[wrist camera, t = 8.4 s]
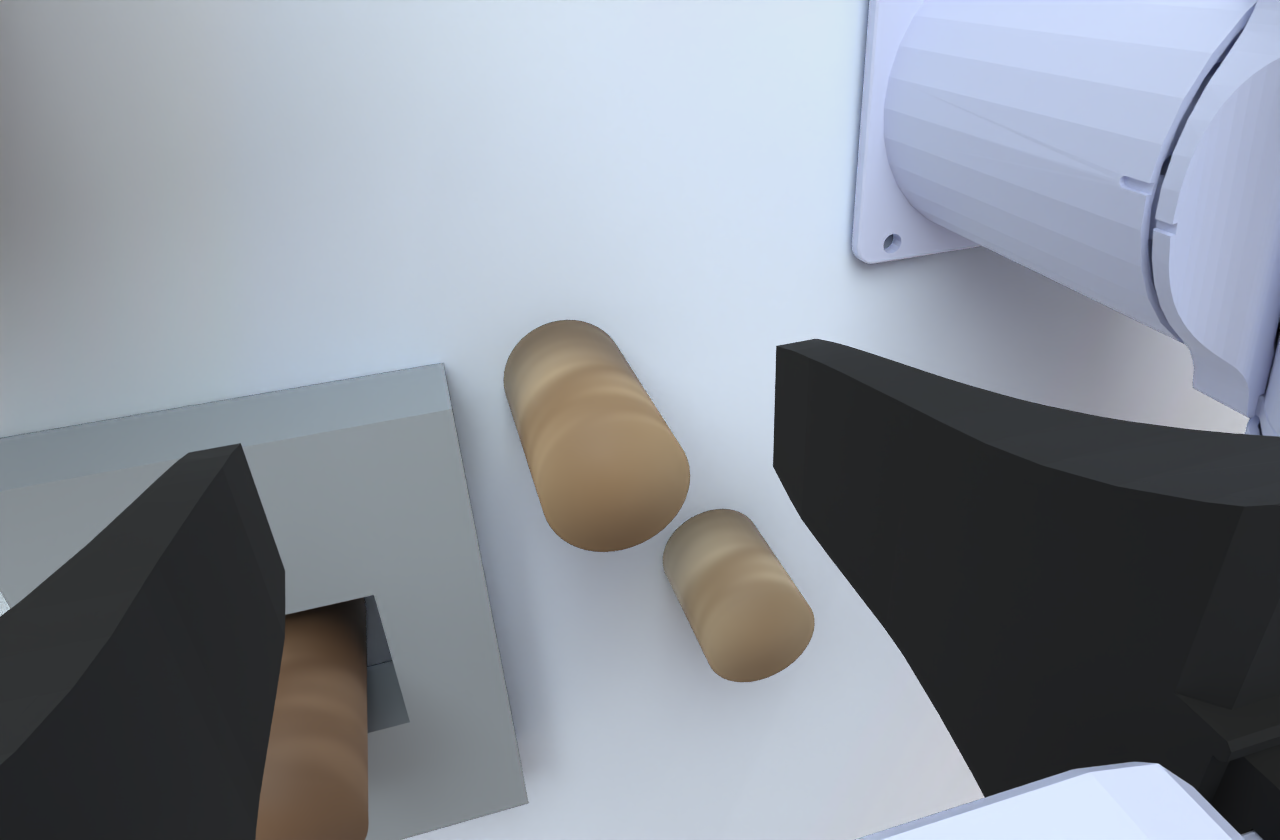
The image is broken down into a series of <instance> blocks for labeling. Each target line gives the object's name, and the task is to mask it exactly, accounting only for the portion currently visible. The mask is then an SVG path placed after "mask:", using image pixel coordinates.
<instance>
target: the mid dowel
mask: <svg viewBox="0 0 1280 840" xmlns="http://www.w3.org/2000/svg"><path fill="white" fill-rule="evenodd" d="M504 389H505V393H506V397H507V400H508V403H509V406H510V409H511V412H512V416H513V419H514V422H515V425H516V428H517V431H518V434H519V437H520V441H521V444H522V447H523V450H524V453H525V456H526V459H527V462H528V466H529V469H530V472H531V475H532V478H533V481H534V484H535V487H536V491H537V494H538V497H539V500H540V503H541V506H542V509H543V513H544V515H545V518H546V520H547V522H548V524H549V525H550V527H551V528H552V530H553V531H554V532H555V533H556V534H557V535H558V536H559V537H560V538H561V539H563V540H564V541H566V542H567V543H569V544H571V545H573V546H575V547H578V548H581V549H584V550H589V551H597V552H609V551H618V550H623V549H627V548H630V547H633V546H636V545H638V544H641V543H643V542H645V541H647V540H648V539H650V538H652V537H653V536H655V535H656V534H658V533H659V532H660V531H661V530H663V529H664V528H665V527H666V526H667V525H668V524H669V523H670V522H671V521H672V520H673V518H674V517H675V516H676V515H677V513H678V512H679V510H680V509H681V507H682V505H683V503H684V501H685V499H686V495H687V492H688V488H689V483H690V470H689V464H688V460H687V457H686V455H685V453H684V451H683V449H682V448H681V446H680V444H679V443H678V441H677V440H676V438H675V437H674V435H673V433H672V432H671V430H670V429H669V427H668V426H667V424H666V422H665V421H664V419H663V418H662V416H661V415H660V413H659V411H658V410H657V408H656V407H655V405H654V404H653V402H652V400H651V399H650V397H649V396H648V394H647V393H646V391H645V389H644V388H643V386H642V385H641V383H640V382H639V380H638V378H637V377H636V375H635V374H634V372H633V371H632V369H631V367H630V366H629V364H628V363H627V361H626V360H625V358H624V356H623V355H622V353H621V352H620V350H619V349H618V347H617V346H616V344H615V342H614V341H613V340H612V339H611V338H610V336H609V335H608V334H606V333H605V332H604V331H603V330H601V329H600V328H598V327H596V326H594V325H592V324H589V323H586V322H583V321H576V320H562V321H555V322H551V323H548V324H545V325H542V326H540V327H538V328H536V329H534V330H533V331H531V332H530V333H528V334H527V335H526V336H525V337H524V338H522V339H521V341H520V342H519V343H518V344H517V345H516V346H515V348H514V349H513V351H512V352H511V354H510V356H509V358H508V361H507V363H506V366H505V371H504Z"/></svg>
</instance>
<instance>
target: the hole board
mask: <svg viewBox="0 0 1280 840" xmlns="http://www.w3.org/2000/svg"><path fill="white" fill-rule="evenodd" d="M239 443H241V445H242V448H243V451H244V454H245V457H246V460H247V462H248V465H249V468H250V471H251V474H252V477H253V480H254V483H255V485H256V488H257V491H258V494H259V497H260V500H261V503H262V506H263V508H264V511H265V514H266V517H267V520H268V523H269V526H270V529H271V532H272V534H273V537H274V540H275V543H276V546H277V549H278V552H279V555H280V557H281V560H282V563H283V566H284V569H285V615H286V614H291V613H295V612H300V611H304V610H309V609H313V608H318V607H322V606H327V605H331V604H336V603H340V602H344V601H349V600H353V599H358V598H362V597H367V596H371V595H374V597H375V601H376V604H377V608H378V611H379V615H380V619H381V622H382V626H383V629H384V633H385V636H386V640H387V643H388V647H389V650H390V654H391V657H392V661H390V662H386V663H382V664H378V665H374V666H369V667H367V726H368V817H369V825H368V833H367V836H366V839H365V840H402V839H405V838H409V837H412V836H416V835H419V834H423V833H426V832H430V831H433V830H437V829H440V828H444V827H447V826H451V825H454V824H458V823H461V822H465V821H468V820H472V819H475V818H479V817H482V816H486V815H489V814H493V813H496V812H500V811H503V810H507V809H510V808H514V807H517V806H521V805H524V804H528V798H527V792H526V787H525V782H524V777H523V772H522V766H521V761H520V756H519V751H518V746H517V741H516V735H515V730H514V725H513V720H512V715H511V710H510V704H509V699H508V694H507V689H506V684H505V679H504V674H503V668H502V663H501V658H500V653H499V648H498V643H497V638H496V632H495V627H494V622H493V617H492V612H491V607H490V602H489V596H488V591H487V586H486V581H485V576H484V571H483V565H482V560H481V555H480V550H479V545H478V540H477V535H476V529H475V524H474V519H473V514H472V509H471V504H470V499H469V493H468V488H467V483H466V478H465V473H464V468H463V463H462V457H461V452H460V447H459V442H458V437H457V432H456V426H455V421H454V416H453V411H452V406H451V401H450V396H449V390H448V385H447V380H446V375H445V370H444V365H443V363H439V364H434V365H428V366H422V367H416V368H410V369H404V370H398V371H392V372H387V373H381V374H375V375H369V376H363V377H357V378H351V379H345V380H340V381H334V382H328V383H322V384H316V385H310V386H304V387H298V388H292V389H287V390H281V391H275V392H269V393H263V394H257V395H251V396H245V397H240V398H234V399H228V400H222V401H216V402H210V403H204V404H198V405H193V406H187V407H181V408H175V409H169V410H163V411H157V412H151V413H146V414H140V415H134V416H128V417H122V418H116V419H110V420H104V421H99V422H93V423H87V424H81V425H75V426H69V427H63V428H57V429H51V430H46V431H40V432H34V433H28V434H22V435H16V436H10V437H4V438H0V591H1V593H2V595H3V596H4V598H5V600H6V602H7V603H8V605H9V607H10V609H11V608H12V607H13V606H15V605H16V604H17V603H19V602H20V601H21V600H22V599H24V598H25V597H26V596H27V595H28V594H29V593H31V592H32V591H33V590H34V589H35V588H36V587H38V586H39V585H40V584H41V583H42V582H44V581H45V580H46V579H47V578H48V577H49V576H51V575H52V574H53V573H54V572H55V571H57V570H58V569H59V568H60V567H61V566H62V565H64V564H65V563H66V562H67V561H68V560H69V559H71V558H72V557H73V556H74V555H75V554H77V553H78V552H79V551H80V550H81V549H82V548H84V547H85V546H86V545H87V544H88V543H89V542H90V541H91V540H93V539H94V538H95V537H96V536H97V535H98V534H99V533H100V532H101V531H102V530H103V529H104V528H106V527H107V526H108V525H109V524H110V523H111V522H112V521H113V520H114V519H115V518H116V517H117V516H118V515H120V514H121V513H122V512H123V511H124V510H125V509H126V508H127V507H128V506H129V505H130V504H131V503H132V502H133V501H135V500H136V499H137V498H138V497H139V496H140V495H141V494H142V493H143V492H144V491H145V490H146V489H147V488H148V487H149V486H150V485H151V484H153V483H154V482H155V481H156V480H157V479H158V478H159V477H160V476H161V475H162V474H163V473H164V472H165V471H167V470H168V469H169V468H170V467H171V466H172V465H173V464H175V463H176V462H177V461H178V460H179V459H181V458H182V457H183V456H185V455H186V454H187V453H189V452H194V451H200V450H205V449H211V448H216V447H222V446H227V445H233V444H239Z"/></svg>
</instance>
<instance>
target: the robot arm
mask: <svg viewBox="0 0 1280 840" xmlns="http://www.w3.org/2000/svg"><path fill="white" fill-rule="evenodd" d="M892 234H893V237H894V238H893V241H892V243H891V244H890V246H889V247H887V248H885V249H884V247H883V244H884V241H885V239H886V238H887V237H888V236H889V235H892ZM980 246H983V247H985V248H987V249H990V250H992V251H994V252H996V253H998V254H1000V255H1002V256H1004V257H1006V258H1008V259H1010V260H1012V261H1014V262H1016V263H1018V264H1020V265H1023V266H1025V267H1027V268H1029V269H1031V270H1033V271H1035V272H1037V273H1039V274H1041V275H1043V276H1045V277H1047V278H1049V279H1051V280H1053V281H1056V282H1058V283H1060V284H1062V285H1064V286H1066V287H1068V288H1070V289H1072V290H1074V291H1076V292H1078V293H1080V294H1082V295H1084V296H1086V297H1089V298H1091V299H1093V300H1095V301H1097V302H1099V303H1101V304H1103V305H1105V306H1107V307H1109V308H1111V309H1113V310H1115V311H1117V312H1119V313H1121V314H1124V315H1126V316H1128V317H1130V318H1132V319H1134V320H1136V321H1138V322H1140V323H1142V324H1144V325H1146V326H1148V327H1150V328H1152V329H1154V330H1157V331H1159V332H1161V333H1163V334H1165V335H1167V336H1169V337H1171V338H1173V339H1175V340H1177V341H1179V342H1181V343H1183V344H1185V345H1186V346H1187V347H1188V348H1189V350H1190V353H1191V356H1192V359H1193V365H1194V375H1193V388H1194V389H1196V390H1198V391H1200V392H1201V393H1203V394H1205V395H1207V396H1209V397H1211V398H1213V399H1215V400H1216V401H1218V402H1220V403H1222V404H1224V405H1226V406H1228V407H1230V408H1231V409H1233V410H1235V411H1237V412H1239V413H1241V414H1243V415H1245V416H1246V417H1248V418H1250V420H1249V422H1248V424H1247V427H1246V432H1245V434H1233V433H1222V432H1211V431H1201V430H1191V429H1182V428H1174V427H1167V426H1159V425H1152V424H1144V423H1137V422H1129V421H1123V420H1117V419H1111V418H1105V417H1099V416H1094V415H1089V414H1084V413H1079V412H1074V411H1069V410H1064V409H1060V408H1055V407H1050V406H1045V405H1041V404H1036V403H1032V402H1028V401H1024V400H1020V399H1016V398H1012V397H1009V396H1005V395H1002V394H998V393H994V392H991V391H987V390H984V389H980V388H976V387H973V386H969V385H966V384H963V383H960V382H956V381H953V380H950V379H947V378H944V377H940V376H937V375H934V374H931V373H928V372H925V371H922V370H919V369H916V368H913V367H910V366H907V365H904V364H901V363H898V362H895V361H892V360H889V359H886V358H883V357H880V356H877V355H874V354H871V353H868V352H865V351H862V350H858V349H855V348H852V347H849V346H845V345H842V344H838V343H834V342H830V341H825V340H820V339H812V340H807V341H801V342H796V343H790V344H785V345H779V346H776V381H775V417H774V453H773V467H774V469H775V471H776V473H777V475H778V477H779V479H780V481H781V483H782V485H783V486H784V488H785V490H786V492H787V494H788V496H789V498H790V500H791V501H792V503H793V505H794V507H795V508H796V510H797V512H798V514H799V515H800V517H801V519H802V520H803V522H804V523H805V524H806V526H807V527H808V529H809V530H810V531H811V533H812V534H813V535H814V537H815V538H816V539H817V541H818V542H819V543H820V545H821V546H822V547H823V549H824V550H825V551H826V553H827V554H828V555H829V557H830V558H831V559H832V561H833V562H834V563H835V564H836V566H837V567H838V568H839V570H840V571H841V572H842V574H843V575H844V576H845V577H846V579H847V580H848V581H849V583H850V584H851V585H852V587H853V588H854V589H855V590H856V592H857V593H858V594H859V596H860V597H861V598H862V600H863V601H864V602H865V603H866V605H867V606H868V607H869V609H870V610H871V611H872V613H873V614H874V615H875V616H876V618H877V619H878V620H879V622H880V623H881V624H882V626H883V627H884V628H885V630H886V631H887V632H888V634H889V635H890V637H891V638H892V640H893V641H894V642H895V644H896V645H897V647H898V648H899V650H900V651H901V653H902V654H903V655H904V657H905V659H906V660H907V662H908V664H909V665H910V667H911V669H912V670H913V672H914V674H915V675H916V677H917V679H918V680H919V682H920V684H921V685H922V687H923V689H924V690H925V692H926V694H927V695H928V697H929V699H930V700H931V702H932V704H933V705H934V707H935V709H936V710H937V712H938V714H939V715H940V717H941V719H942V721H943V722H944V724H945V726H946V728H947V730H948V731H949V733H950V735H951V737H952V738H953V740H954V742H955V744H956V746H957V747H958V749H959V751H960V753H961V754H962V756H963V758H964V760H965V762H966V763H967V765H968V767H969V769H970V770H971V772H972V774H973V776H974V778H975V780H976V782H977V783H978V785H979V787H980V789H981V791H982V793H983V795H984V797H985V798H982V799H979V800H976V801H973V802H970V803H967V804H964V805H961V806H958V807H954V808H951V809H948V810H945V811H942V812H939V813H936V814H933V815H930V816H927V817H923V818H920V819H917V820H914V821H911V822H908V823H905V824H902V825H899V826H895V827H892V828H889V829H886V830H883V831H880V832H877V833H874V834H871V835H867V836H864V837H861V838H858V839H855V840H1280V0H869V14H868V28H867V41H866V55H865V69H864V83H863V97H862V111H861V124H860V138H859V152H858V166H857V180H856V193H855V207H854V221H853V235H852V251H853V253H854V255H855V257H856V258H858V259H860V260H861V261H863V262H865V263H866V264H875V263H881V262H888V261H894V260H900V259H906V258H912V257H918V256H924V255H931V254H937V253H943V252H949V251H955V250H961V249H967V248H973V247H980ZM284 640H285V569H284V566H283V563H282V560H281V557H280V555H279V552H278V549H277V546H276V543H275V540H274V537H273V534H272V532H271V529H270V526H269V523H268V520H267V517H266V514H265V511H264V508H263V506H262V503H261V500H260V497H259V494H258V491H257V488H256V485H255V483H254V480H253V477H252V474H251V471H250V468H249V465H248V462H247V460H246V457H245V454H244V451H243V448H242V445H241V443H239V444H233V445H227V446H222V447H216V448H211V449H205V450H200V451H194V452H189V453H187V454H186V455H185V456H183V457H182V458H181V459H179V460H178V461H177V462H176V463H175V464H173V465H172V466H171V467H170V468H169V469H168V470H167V471H165V472H164V473H163V474H162V475H161V476H160V477H159V478H158V479H157V480H156V481H155V482H154V483H153V484H151V485H150V486H149V487H148V488H147V489H146V490H145V491H144V492H143V493H142V494H141V495H140V496H139V497H138V498H137V499H136V500H135V501H133V502H132V503H131V504H130V505H129V506H128V507H127V508H126V509H125V510H124V511H123V512H122V513H121V514H120V515H118V516H117V517H116V518H115V519H114V520H113V521H112V522H111V523H110V524H109V525H108V526H107V527H106V528H104V529H103V530H102V531H101V532H100V533H99V534H98V535H97V536H96V537H95V538H94V539H93V540H91V541H90V542H89V543H88V544H87V545H86V546H85V547H84V548H82V549H81V550H80V551H79V552H78V553H77V554H75V555H74V556H73V557H72V558H71V559H69V560H68V561H67V562H66V563H65V564H64V565H62V566H61V567H60V568H59V569H58V570H57V571H55V572H54V573H53V574H52V575H51V576H49V577H48V578H47V579H46V580H45V581H44V582H42V583H41V584H40V585H39V586H38V587H36V588H35V589H34V590H33V591H32V592H31V593H29V594H28V595H27V596H26V597H25V598H24V599H22V600H21V601H20V602H19V603H17V604H16V605H15V606H13V607H12V608H11V609H10V610H8V611H7V612H6V613H5V614H3V615H2V616H1V617H0V840H256V827H257V818H258V809H259V800H260V793H261V786H262V780H263V774H264V768H265V762H266V755H267V749H268V743H269V737H270V731H271V724H272V718H273V712H274V706H275V700H276V694H277V687H278V681H279V674H280V667H281V661H282V654H283V647H284Z"/></svg>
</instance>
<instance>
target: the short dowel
mask: <svg viewBox="0 0 1280 840" xmlns="http://www.w3.org/2000/svg"><path fill="white" fill-rule="evenodd" d="M663 568H664V571H665V574H666V576H667V578H668V580H669V582H670V584H671V586H672V588H673V590H674V592H675V594H676V597H677V599H678V601H679V603H680V605H681V607H682V609H683V611H684V613H685V615H686V617H687V619H688V621H689V623H690V626H691V628H692V630H693V632H694V634H695V636H696V638H697V640H698V642H699V644H700V646H701V648H702V650H703V652H704V655H705V657H706V659H707V661H708V663H709V665H710V667H711V668H712V669H713V671H714V672H715V673H716V674H718V675H719V676H721V677H722V678H724V679H727V680H730V681H735V682H751V681H757V680H761V679H764V678H767V677H770V676H772V675H774V674H776V673H778V672H780V671H782V670H783V669H785V668H786V667H788V666H789V665H790V664H792V663H793V662H794V661H795V660H796V659H797V658H798V657H799V656H800V655H801V654H802V653H803V651H804V650H805V648H806V647H807V645H808V644H809V642H810V640H811V637H812V634H813V631H814V615H813V612H812V609H811V608H810V606H809V605H808V603H807V602H806V600H805V599H804V597H803V596H802V594H801V593H800V592H799V590H798V589H797V587H796V586H795V584H794V583H793V581H792V580H791V578H790V577H789V575H788V574H787V572H786V571H785V569H784V568H783V566H782V565H781V563H780V562H779V561H778V559H777V558H776V556H775V555H774V553H773V552H772V550H771V549H770V547H769V546H768V544H767V543H766V541H765V540H764V538H763V537H762V535H761V534H760V532H759V531H758V530H757V528H756V527H755V525H754V524H753V522H752V521H751V520H750V519H749V518H748V517H747V516H745V515H744V514H742V513H740V512H737V511H734V510H729V509H716V510H710V511H706V512H703V513H701V514H698V515H696V516H694V517H692V518H690V519H689V520H687V521H686V522H685V523H683V524H682V525H681V526H680V527H679V528H678V529H677V530H676V531H675V532H674V533H673V534H672V536H671V537H670V539H669V540H668V542H667V544H666V547H665V550H664V553H663Z"/></svg>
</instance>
